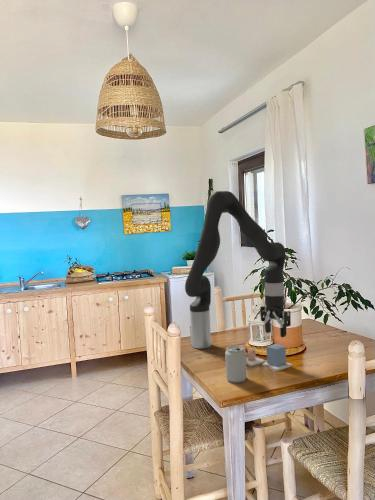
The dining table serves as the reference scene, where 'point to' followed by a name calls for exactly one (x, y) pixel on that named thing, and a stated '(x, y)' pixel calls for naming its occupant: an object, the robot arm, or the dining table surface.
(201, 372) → the dining table surface
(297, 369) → the dining table surface
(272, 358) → the blue-grey block
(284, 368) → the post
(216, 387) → the dining table surface
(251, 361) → the short post
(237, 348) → the can
